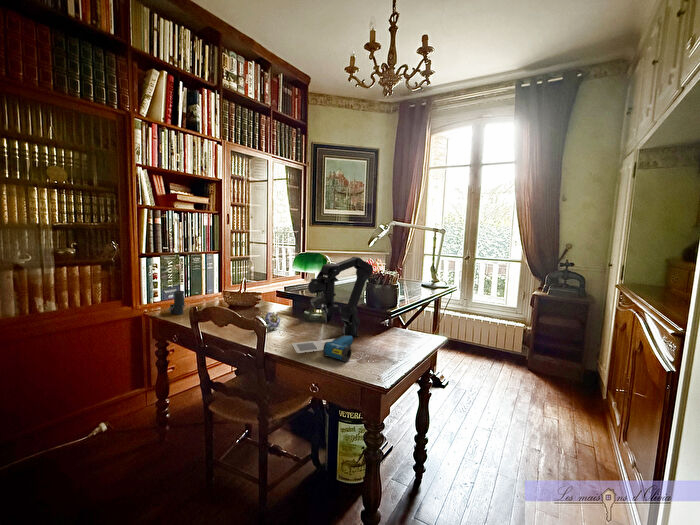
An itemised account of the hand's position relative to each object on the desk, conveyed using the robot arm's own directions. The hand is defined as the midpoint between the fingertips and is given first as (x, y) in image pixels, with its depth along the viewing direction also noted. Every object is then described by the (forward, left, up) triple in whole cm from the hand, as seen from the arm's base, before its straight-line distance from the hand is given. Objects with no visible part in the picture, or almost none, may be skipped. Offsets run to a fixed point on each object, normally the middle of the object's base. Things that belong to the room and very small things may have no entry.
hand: (327, 322), depth 154 cm
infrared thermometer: (-3, +14, -10) cm, 18 cm away
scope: (+71, -71, -10) cm, 101 cm away
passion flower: (+23, -28, -10) cm, 38 cm away
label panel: (+5, +3, -10) cm, 12 cm away
